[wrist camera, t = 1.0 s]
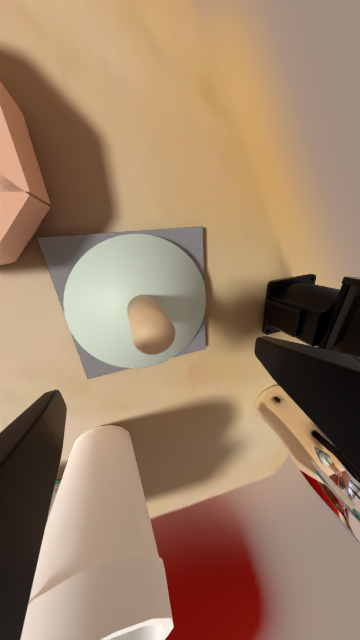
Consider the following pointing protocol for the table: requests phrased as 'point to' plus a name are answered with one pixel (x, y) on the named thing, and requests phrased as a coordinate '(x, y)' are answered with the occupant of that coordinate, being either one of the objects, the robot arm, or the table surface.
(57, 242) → the mat
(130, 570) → the foam cup
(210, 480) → the table surface
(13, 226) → the bowl
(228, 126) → the table surface
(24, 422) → the robot arm
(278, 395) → the beer glass
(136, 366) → the lid
